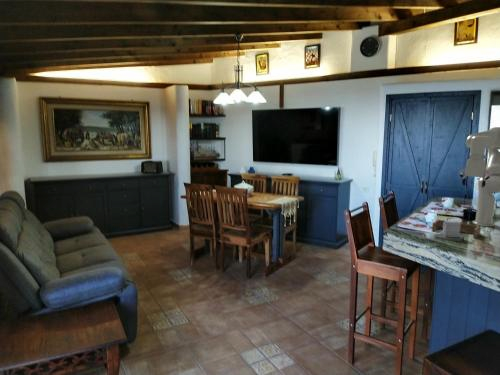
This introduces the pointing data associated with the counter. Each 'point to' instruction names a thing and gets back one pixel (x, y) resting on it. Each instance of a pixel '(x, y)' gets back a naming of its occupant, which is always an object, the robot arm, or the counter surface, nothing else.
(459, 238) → the mat
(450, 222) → the medicine box
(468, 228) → the open side wooden frame
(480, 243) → the counter surface
